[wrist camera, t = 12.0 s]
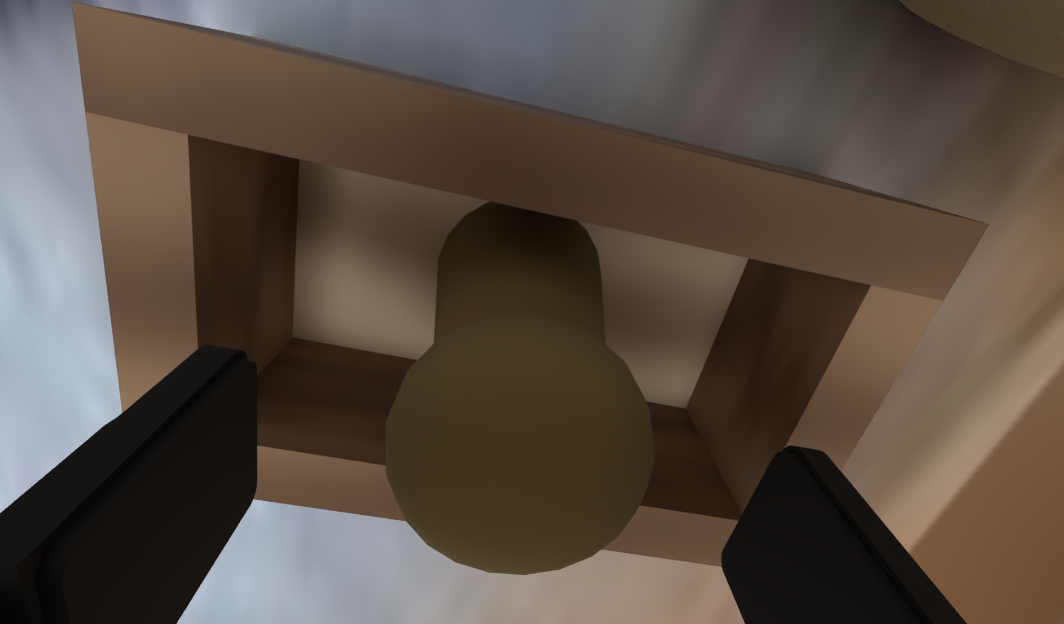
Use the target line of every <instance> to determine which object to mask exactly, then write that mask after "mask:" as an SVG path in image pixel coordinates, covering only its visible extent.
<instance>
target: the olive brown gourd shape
mask: <svg viewBox="0 0 1064 624" xmlns="http://www.w3.org/2000/svg"><path fill="white" fill-rule="evenodd" d="M653 465H654V444H653V435H652V426H651V417H650V410H649V407H648V405H647V403H646V401H645V398H644V396H643V394H642V392H641V390H640V388H639V386H638V384H637V383H636V381H635V379H634V377H633V375H632V373H631V371H630V370H629V368H628V366H627V364H626V362H625V361H624V360H623V359H621V358H620V357H619V356H618V355H617V354H616V353H615V352H614V351H613V350H611V349H610V348H609V347H608V346H607V345H606V341H605V326H604V310H603V294H602V279H601V270H600V263H599V256H598V251H597V249H596V247H595V245H594V243H593V241H592V239H591V237H590V235H589V234H588V232H587V230H586V229H585V228H584V227H583V226H582V225H581V224H580V223H579V222H578V221H577V220H573V219H568V218H564V217H559V216H555V215H550V214H546V213H541V212H537V211H532V210H527V209H523V208H518V207H514V206H509V205H505V204H500V203H496V202H491V201H490V202H487V203H486V204H484V205H482V206H480V207H479V208H477V209H475V210H473V211H471V212H470V213H468V214H466V215H465V216H464V217H463V218H462V219H461V220H460V222H459V223H458V224H457V225H456V226H455V227H454V228H453V229H452V230H451V232H450V233H449V234H448V236H447V238H446V240H445V243H444V245H443V248H442V250H441V253H440V255H439V257H438V273H437V291H436V309H435V327H434V344H433V345H432V346H431V347H430V348H429V349H428V350H427V351H426V352H425V353H424V354H423V355H422V356H421V357H420V358H419V359H418V360H417V361H416V362H415V363H414V364H413V365H412V366H411V367H410V369H409V370H408V371H407V373H406V375H405V378H404V380H403V382H402V385H401V387H400V389H399V392H398V394H397V396H396V399H395V401H394V403H393V406H392V408H391V410H390V413H389V415H388V417H387V420H386V477H387V479H388V482H389V484H390V487H391V489H392V492H393V494H394V497H395V499H396V502H397V504H398V507H399V508H400V510H401V512H402V514H403V516H404V518H405V520H406V521H407V523H408V524H409V525H410V526H411V527H412V528H413V529H414V530H415V532H416V533H417V534H418V535H419V536H420V537H421V538H422V539H423V541H424V542H425V543H426V544H427V545H428V546H430V547H432V548H433V549H435V550H436V551H438V552H440V553H441V554H443V555H445V556H446V557H448V558H450V559H451V560H453V561H455V562H456V563H460V564H463V565H466V566H470V567H473V568H476V569H479V570H483V571H486V572H489V573H504V574H519V575H527V574H534V573H540V572H547V571H553V570H560V569H562V568H565V567H567V566H569V565H572V564H574V563H577V562H579V561H582V560H584V559H587V558H589V557H592V556H593V555H594V554H596V553H597V552H598V551H600V550H601V549H602V548H604V547H605V546H606V545H608V544H609V543H611V542H612V541H613V540H615V539H616V538H617V537H618V536H619V535H620V533H621V532H622V531H623V529H624V528H625V527H626V525H627V524H628V523H629V521H630V520H631V518H632V517H633V516H634V514H635V513H636V511H637V510H638V508H639V506H640V504H641V502H642V500H643V498H644V496H645V493H646V489H647V486H648V482H649V479H650V475H651V472H652V468H653Z"/></svg>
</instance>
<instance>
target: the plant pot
mask: <svg viewBox="0 0 1064 624" xmlns="http://www.w3.org/2000/svg"><path fill="white" fill-rule="evenodd" d="M899 1H900V2H901V3H902V4H903V5H904V6H905V7H906V8H908V9H909V10H910V11H912V12H913V13H915V14H916V15H918V16H919V17H921V18H923V19H924V20H926V21H928V22H930V23H932V24H934V25H936V26H938V27H940V28H942V29H944V30H946V31H948V32H950V33H952V34H954V35H956V36H958V37H960V38H962V39H964V40H966V41H969V42H971V43H973V44H975V45H978V46H980V47H982V48H985V49H987V50H990V51H992V52H995V53H997V54H999V55H1002V56H1004V57H1007V58H1009V59H1012V60H1014V61H1017V62H1019V63H1021V64H1024V65H1027V66H1030V67H1032V68H1035V69H1038V70H1041V71H1044V72H1047V73H1049V74H1052V75H1055V76H1058V77H1061V78H1063V79H1064V0H899Z"/></svg>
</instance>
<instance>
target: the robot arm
mask: <svg viewBox="0 0 1064 624" xmlns="http://www.w3.org/2000/svg"><path fill="white" fill-rule="evenodd" d="M256 488H257V365H256V363H255V362H254V361H249V360H248V359H247V355H246V353H245V352H244V351H243V350H238V349H232V348H226V347H220V346H215V345H209V344H207V345H203V346H201V347H200V348H198V349H197V350H196V351H195V352H194V353H192V354H191V355H190V356H189V357H188V358H187V359H185V360H184V361H183V362H182V363H181V364H179V365H178V366H177V367H176V368H175V369H174V370H172V371H171V372H170V373H169V374H168V375H166V376H165V377H164V378H163V379H162V380H161V381H159V382H158V383H157V384H156V385H155V386H153V387H152V388H151V389H150V390H149V391H148V392H146V393H145V394H144V395H143V396H142V397H140V398H139V399H138V400H137V401H136V402H135V403H133V404H132V405H131V406H130V407H129V408H127V409H126V410H125V411H124V412H123V413H122V414H120V415H119V416H118V417H117V418H115V419H114V420H112V421H111V422H109V423H108V424H106V425H105V426H103V427H102V428H101V429H100V430H99V431H97V432H96V433H95V434H94V435H93V436H92V437H90V438H89V439H88V440H87V441H86V442H84V443H83V444H82V445H81V446H80V447H78V448H77V449H76V450H75V451H74V452H72V453H71V454H70V455H69V456H68V457H67V458H65V459H64V460H63V461H62V462H61V463H59V464H58V465H57V466H56V467H55V468H53V469H52V470H51V471H50V472H49V473H48V474H46V475H45V476H44V477H43V478H42V479H40V480H39V481H38V482H37V483H36V484H34V485H33V486H32V487H31V488H30V489H29V490H27V491H26V492H25V493H24V494H23V495H21V496H20V497H19V498H18V499H17V500H15V501H14V502H13V503H12V504H11V505H9V506H8V507H7V508H6V509H5V510H4V511H2V512H1V513H0V624H177V622H178V620H179V619H180V617H181V616H182V614H183V612H184V611H185V609H186V608H187V606H188V604H189V603H190V601H191V600H192V598H193V596H194V595H195V593H196V592H197V590H198V588H199V587H200V585H201V584H202V582H203V580H204V579H205V577H206V576H207V574H208V572H209V571H210V569H211V568H212V566H213V564H214V563H215V561H216V560H217V558H218V556H219V555H220V553H221V552H222V550H223V548H224V547H225V545H226V544H227V542H228V540H229V539H230V537H231V536H232V534H233V532H234V531H235V529H236V527H237V526H238V524H239V523H240V521H241V519H242V518H243V516H244V515H245V513H246V511H247V510H248V508H249V507H250V505H251V503H252V501H253V498H254V496H255V493H256ZM721 564H722V569H723V572H724V575H725V577H726V579H727V582H728V584H729V586H730V589H731V591H732V594H733V596H734V598H735V601H736V603H737V605H738V608H739V610H740V613H741V615H742V617H743V620H744V622H745V624H967V623H966V622H965V621H964V620H963V619H962V617H961V616H960V615H959V614H958V612H957V611H956V610H955V609H954V608H953V606H952V605H951V604H950V603H949V602H948V600H947V599H946V598H945V597H944V595H943V594H942V593H941V592H940V591H939V589H938V588H937V587H936V586H935V585H934V583H933V582H932V581H931V580H930V579H929V577H928V576H927V575H926V574H925V572H924V571H923V570H922V569H921V568H920V566H919V565H918V564H917V563H916V562H915V561H914V559H913V558H912V557H911V556H910V554H909V553H908V552H907V551H906V549H905V548H904V547H903V546H902V545H901V543H900V542H899V541H898V540H897V539H896V537H895V536H894V535H893V534H892V533H891V531H890V530H889V529H888V528H887V527H886V525H885V524H884V523H883V522H882V520H881V519H880V518H879V517H878V516H877V514H876V513H875V512H874V511H873V510H872V508H871V507H870V506H869V505H868V504H867V502H866V501H865V500H864V499H863V497H862V496H861V495H860V494H859V493H858V491H857V490H856V489H855V488H854V487H853V485H852V484H851V483H850V482H849V481H848V479H847V478H846V477H845V476H844V475H843V473H842V472H841V471H840V470H839V468H838V467H837V466H836V465H835V464H834V462H833V461H832V460H831V459H830V458H829V456H828V455H827V454H825V453H824V452H823V451H820V450H817V449H811V448H805V447H799V446H793V445H791V446H787V447H786V448H784V449H783V450H782V451H781V452H777V453H776V454H775V455H774V456H773V458H772V460H771V462H770V464H769V465H768V467H767V469H766V471H765V473H764V475H763V476H762V478H761V480H760V482H759V484H758V486H757V487H756V489H755V491H754V493H753V495H752V497H751V499H750V500H749V502H748V504H747V506H746V508H745V510H744V511H743V513H742V515H741V517H740V519H739V521H738V523H737V524H736V526H735V528H734V530H733V532H732V534H731V535H730V537H729V539H728V541H727V543H726V545H725V546H724V548H723V551H722V555H721Z"/></svg>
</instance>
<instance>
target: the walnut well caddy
mask: <svg viewBox="0 0 1064 624" xmlns="http://www.w3.org/2000/svg"><path fill="white" fill-rule="evenodd" d="M72 8H73V16H74V24H75V32H76V40H77V48H78V56H79V64H80V73H81V81H82V89H83V97H84V105H85V113H86V121H87V129H88V138H89V146H90V154H91V162H92V170H93V178H94V186H95V194H96V202H97V211H98V219H99V227H100V235H101V243H102V251H103V259H104V267H105V276H106V284H107V292H108V300H109V308H110V316H111V324H112V332H113V340H114V349H115V357H116V365H117V373H118V381H119V389H120V397H121V405H122V413H123V412H124V411H125V410H126V409H127V408H129V407H130V406H131V405H132V404H133V403H135V402H136V401H137V400H138V399H139V398H140V397H142V396H143V395H144V394H145V393H146V392H148V391H149V390H150V389H151V388H152V387H153V386H155V385H156V384H157V383H158V382H159V381H161V380H162V379H163V378H164V377H165V376H166V375H168V374H169V373H170V372H171V371H172V370H174V369H175V368H176V367H177V366H178V365H179V364H181V363H182V362H183V361H184V360H185V359H187V358H188V357H189V356H190V355H191V354H192V353H194V352H195V351H196V350H197V349H198V348H200V347H201V346H203V345H207V344H209V345H215V346H220V347H226V348H232V349H238V350H243V351H244V352H245V353H246V355H247V359H248V360H249V361H254V362H255V363H256V365H257V488H256V493H255V496H254V498H253V499H256V500H263V501H270V502H277V503H284V504H291V505H298V506H304V507H311V508H318V509H325V510H332V511H339V512H346V513H353V514H360V515H367V516H374V517H381V518H388V519H395V520H402V521H406V520H405V518H404V516H403V514H402V512H401V510H400V508H399V507H398V504H397V502H396V499H395V497H394V494H393V492H392V489H391V487H390V484H389V482H388V479H387V477H386V420H387V417H388V415H389V413H390V410H391V408H392V406H393V403H394V401H395V399H396V396H397V394H398V392H399V389H400V387H401V385H402V382H403V380H404V378H405V375H406V373H407V371H408V370H409V369H410V367H411V366H412V365H413V364H414V363H415V362H416V361H417V360H418V359H419V358H420V357H421V356H422V355H423V354H424V353H425V352H426V351H427V350H428V349H429V348H430V347H431V346H432V345H433V344H434V327H435V309H436V291H437V273H438V257H439V255H440V253H441V250H442V248H443V245H444V243H445V240H446V238H447V236H448V234H449V233H450V232H451V230H452V229H453V228H454V227H455V226H456V225H457V224H458V223H459V222H460V220H461V219H462V218H463V217H464V216H465V215H466V214H468V213H470V212H471V211H473V210H475V209H477V208H479V207H480V206H482V205H484V204H486V203H487V202H490V201H491V202H496V203H500V204H505V205H509V206H514V207H518V208H523V209H527V210H532V211H537V212H541V213H546V214H550V215H555V216H559V217H564V218H568V219H573V220H577V221H578V222H579V223H580V224H581V225H582V226H583V227H584V228H585V229H586V230H587V232H588V234H589V235H590V237H591V239H592V241H593V243H594V245H595V247H596V249H597V251H598V256H599V263H600V270H601V279H602V294H603V310H604V326H605V341H606V345H607V346H608V347H609V348H610V349H611V350H613V351H614V352H615V353H616V354H617V355H618V356H619V357H620V358H621V359H623V360H624V361H625V362H626V364H627V366H628V368H629V370H630V371H631V373H632V375H633V377H634V379H635V381H636V383H637V384H638V386H639V388H640V390H641V392H642V394H643V396H644V398H645V401H646V403H647V405H648V407H649V410H650V417H651V426H652V435H653V444H654V465H653V468H652V472H651V475H650V479H649V482H648V486H647V489H646V493H645V496H644V498H643V500H642V502H641V504H640V506H639V508H638V510H637V511H636V513H635V514H634V516H633V517H632V518H631V520H630V521H629V523H628V524H627V525H626V527H625V528H624V529H623V531H622V532H621V533H620V535H619V536H618V537H617V538H616V539H615V540H613V541H612V542H611V543H609V544H608V545H606V546H605V547H604V548H602V549H603V550H610V551H616V552H623V553H630V554H637V555H644V556H651V557H658V558H665V559H672V560H679V561H686V562H693V563H700V564H707V565H714V566H721V567H722V564H721V555H722V551H723V548H724V546H725V545H726V543H727V541H728V539H729V537H730V535H731V534H732V532H733V530H734V528H735V526H736V524H737V523H738V521H739V519H740V517H741V515H742V513H743V511H744V510H745V508H746V506H747V504H748V502H749V500H750V499H751V497H752V495H753V493H754V491H755V489H756V487H757V486H758V484H759V482H760V480H761V478H762V476H763V475H764V473H765V471H766V469H767V467H768V465H769V464H770V462H771V460H772V458H773V456H774V455H775V454H776V453H777V452H781V451H782V450H783V449H784V448H786V447H787V446H791V445H793V446H799V447H805V448H811V449H817V450H820V451H823V452H824V453H825V454H827V455H828V456H829V458H830V459H831V460H832V461H833V462H834V464H835V465H836V466H837V467H838V468H839V470H840V471H841V469H842V468H843V466H844V465H845V463H846V461H847V460H848V458H849V456H850V455H851V453H852V451H853V450H854V448H855V446H856V445H857V443H858V441H859V440H860V438H861V436H862V435H863V433H864V431H865V430H866V428H867V426H868V425H869V423H870V421H871V420H872V418H873V416H874V415H875V413H876V411H877V410H878V408H879V406H880V405H881V403H882V402H883V400H884V398H885V397H886V395H887V393H888V392H889V390H890V388H891V387H892V385H893V383H894V382H895V380H896V378H897V377H898V375H899V373H900V372H901V370H902V368H903V367H904V365H905V363H906V362H907V360H908V358H909V357H910V355H911V353H912V352H913V350H914V348H915V347H916V345H917V344H918V342H919V340H920V339H921V337H922V335H923V334H924V332H925V330H926V329H927V327H928V325H929V324H930V322H931V320H932V319H933V317H934V315H935V314H936V312H937V310H938V309H939V307H940V305H941V304H942V302H943V300H944V299H945V297H946V295H947V294H948V292H949V290H950V289H951V287H952V285H953V284H954V282H955V281H956V279H957V277H958V276H959V274H960V272H961V271H962V269H963V267H964V266H965V264H966V262H967V261H968V259H969V257H970V256H971V254H972V252H973V251H974V249H975V247H976V246H977V244H978V242H979V241H980V239H981V237H982V236H983V234H984V232H985V231H986V229H987V227H988V226H989V224H986V223H983V222H979V221H976V220H972V219H969V218H965V217H962V216H958V215H955V214H952V213H948V212H945V211H941V210H938V209H934V208H931V207H927V206H924V205H920V204H917V203H913V202H910V201H906V200H903V199H900V198H896V197H893V196H889V195H886V194H882V193H879V192H875V191H872V190H868V189H865V188H861V187H858V186H854V185H851V184H848V183H844V182H841V181H837V180H834V179H830V178H827V177H823V176H819V175H815V174H811V173H807V172H803V171H799V170H795V169H790V168H786V167H782V166H778V165H774V164H770V163H766V162H762V161H758V160H754V159H750V158H746V157H741V156H737V155H733V154H729V153H725V152H721V151H717V150H713V149H709V148H705V147H701V146H696V145H692V144H688V143H684V142H680V141H676V140H672V139H668V138H664V137H660V136H656V135H652V134H647V133H643V132H639V131H635V130H631V129H627V128H623V127H619V126H615V125H611V124H607V123H602V122H598V121H594V120H590V119H586V118H582V117H578V116H574V115H570V114H566V113H562V112H558V111H553V110H549V109H545V108H541V107H537V106H533V105H529V104H525V103H521V102H517V101H513V100H508V99H504V98H500V97H496V96H492V95H488V94H484V93H480V92H476V91H472V90H468V89H463V88H459V87H455V86H451V85H447V84H443V83H439V82H435V81H431V80H427V79H423V78H419V77H414V76H410V75H406V74H402V73H398V72H394V71H390V70H386V69H382V68H378V67H374V66H369V65H365V64H361V63H357V62H353V61H349V60H345V59H341V58H337V57H333V56H329V55H325V54H320V53H316V52H312V51H308V50H304V49H300V48H296V47H292V46H288V45H284V44H280V43H275V42H271V41H267V40H263V39H259V38H255V37H251V36H246V35H241V34H235V33H230V32H225V31H220V30H215V29H210V28H205V27H199V26H194V25H189V24H184V23H179V22H174V21H169V20H164V19H158V18H153V17H148V16H143V15H138V14H133V13H128V12H122V11H117V10H112V9H107V8H102V7H97V6H92V5H86V4H81V3H76V2H72Z"/></svg>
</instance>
